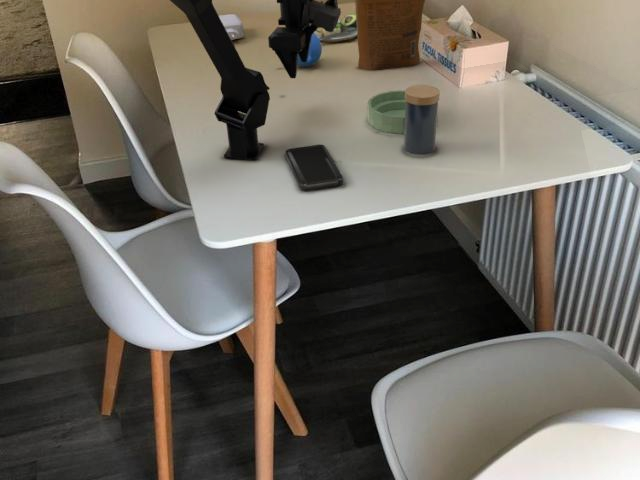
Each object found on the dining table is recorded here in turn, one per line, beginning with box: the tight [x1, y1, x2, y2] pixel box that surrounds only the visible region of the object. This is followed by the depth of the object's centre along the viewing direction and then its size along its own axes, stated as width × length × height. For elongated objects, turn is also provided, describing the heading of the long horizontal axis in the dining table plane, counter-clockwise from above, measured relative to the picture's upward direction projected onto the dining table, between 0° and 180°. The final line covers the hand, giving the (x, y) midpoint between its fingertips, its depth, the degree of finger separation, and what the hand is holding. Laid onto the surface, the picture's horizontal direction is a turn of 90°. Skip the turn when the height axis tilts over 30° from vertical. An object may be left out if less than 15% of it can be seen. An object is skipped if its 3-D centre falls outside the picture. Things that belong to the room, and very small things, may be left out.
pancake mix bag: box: [354, 0, 426, 71], centre depth 161 cm, size 7×19×28 cm, turn 102°
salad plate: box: [313, 13, 357, 43], centre depth 190 cm, size 19×18×5 cm
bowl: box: [366, 90, 406, 135], centre depth 139 cm, size 14×14×4 cm
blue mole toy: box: [274, 34, 323, 68], centre depth 168 cm, size 12×12×8 cm
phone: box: [285, 144, 344, 192], centre depth 124 cm, size 8×1×15 cm
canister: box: [403, 84, 441, 156], centre depth 126 cm, size 6×6×12 cm
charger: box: [218, 13, 245, 41], centre depth 190 cm, size 5×9×15 cm
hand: (298, 69), depth 134 cm, fingers open, 9 cm apart
